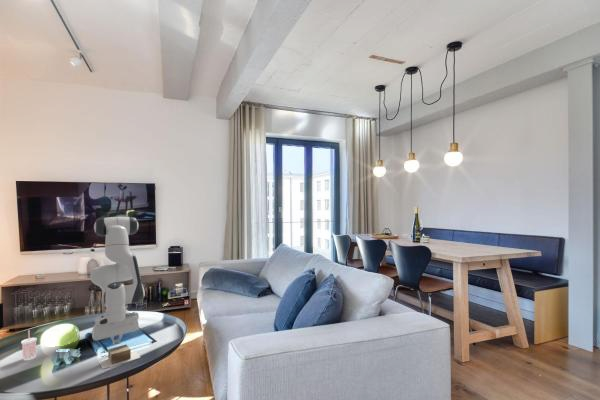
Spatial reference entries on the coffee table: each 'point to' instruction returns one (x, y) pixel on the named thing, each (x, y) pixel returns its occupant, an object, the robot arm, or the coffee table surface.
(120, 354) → the block
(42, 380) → the coffee table surface
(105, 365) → the pad
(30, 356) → the beverage cup
